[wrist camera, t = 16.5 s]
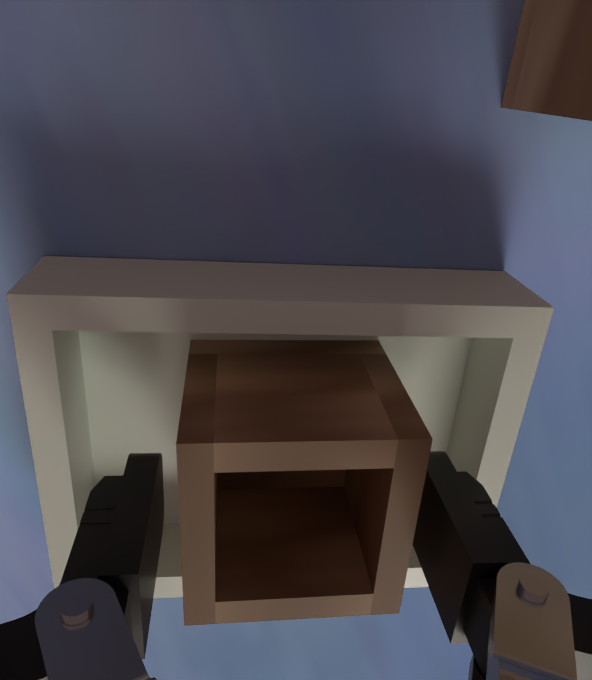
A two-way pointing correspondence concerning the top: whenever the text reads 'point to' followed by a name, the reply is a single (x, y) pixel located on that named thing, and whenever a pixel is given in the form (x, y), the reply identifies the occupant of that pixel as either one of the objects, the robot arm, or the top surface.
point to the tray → (253, 324)
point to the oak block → (552, 60)
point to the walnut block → (296, 480)
